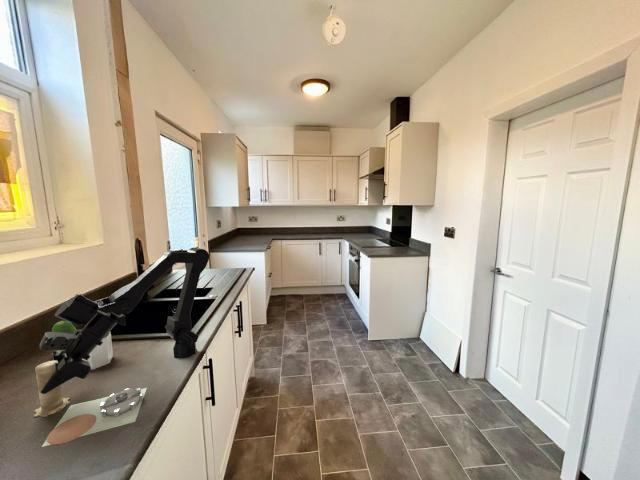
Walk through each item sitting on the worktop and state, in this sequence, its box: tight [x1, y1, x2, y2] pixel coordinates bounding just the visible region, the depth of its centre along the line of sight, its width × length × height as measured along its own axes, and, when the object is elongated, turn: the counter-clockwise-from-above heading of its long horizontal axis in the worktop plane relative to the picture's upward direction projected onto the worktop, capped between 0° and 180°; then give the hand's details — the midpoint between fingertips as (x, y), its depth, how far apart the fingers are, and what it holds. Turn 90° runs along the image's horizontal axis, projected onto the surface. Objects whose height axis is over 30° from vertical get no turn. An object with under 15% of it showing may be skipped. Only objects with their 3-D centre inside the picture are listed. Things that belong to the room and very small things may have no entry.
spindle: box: [33, 359, 71, 418], centre depth 66 cm, size 7×7×13 cm
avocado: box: [51, 320, 78, 352], centre depth 95 cm, size 8×8×12 cm
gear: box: [100, 387, 144, 418], centre depth 68 cm, size 9×9×2 cm
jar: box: [82, 331, 114, 371], centre depth 88 cm, size 9×8×12 cm
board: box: [41, 387, 148, 448], centre depth 65 cm, size 17×14×1 cm
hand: (41, 389), depth 65 cm, fingers closed on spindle, 4 cm apart
